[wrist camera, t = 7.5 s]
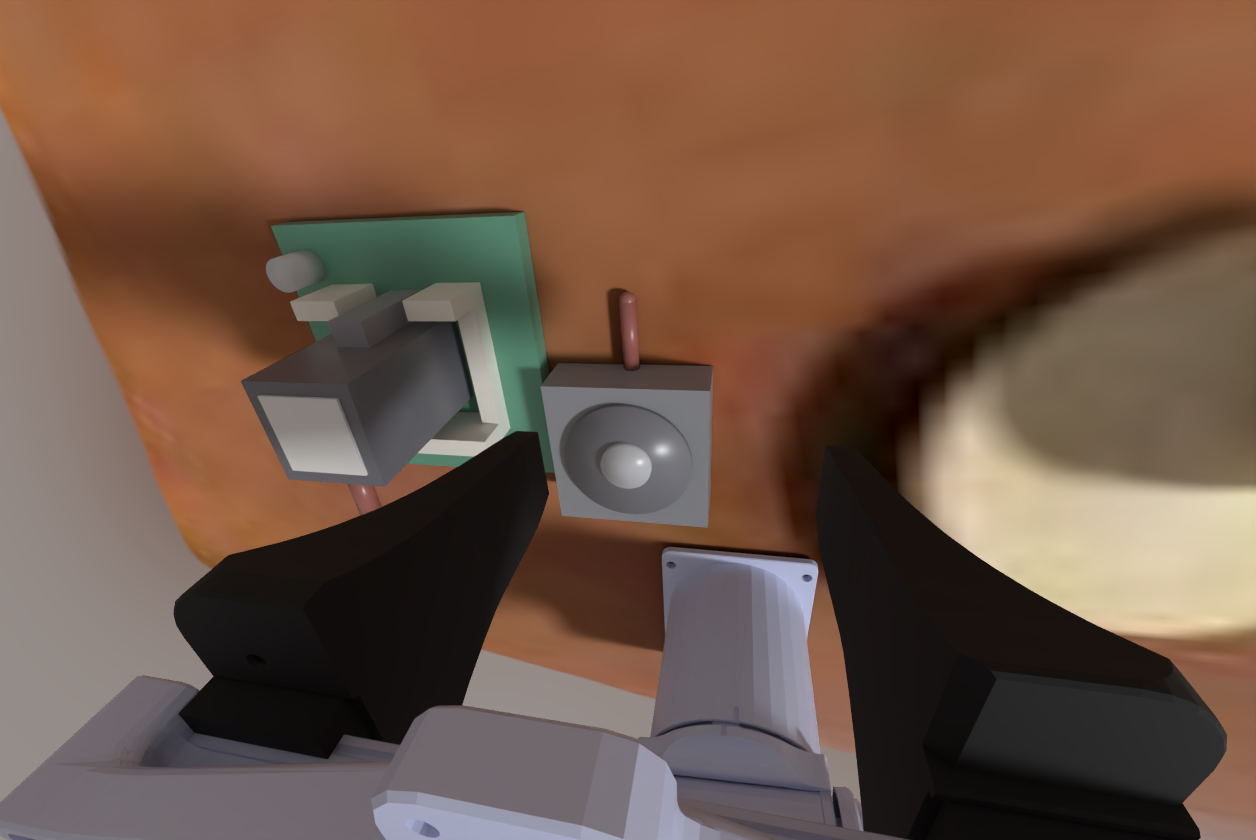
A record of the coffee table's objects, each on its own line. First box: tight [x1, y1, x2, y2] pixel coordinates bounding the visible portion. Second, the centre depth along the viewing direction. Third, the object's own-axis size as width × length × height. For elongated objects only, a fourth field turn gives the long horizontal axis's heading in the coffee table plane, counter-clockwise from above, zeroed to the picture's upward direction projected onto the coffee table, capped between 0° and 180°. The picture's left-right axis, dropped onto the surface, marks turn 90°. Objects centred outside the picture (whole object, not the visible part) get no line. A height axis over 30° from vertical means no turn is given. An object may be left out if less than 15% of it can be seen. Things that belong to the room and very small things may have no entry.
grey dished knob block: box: [541, 292, 713, 527], centre depth 22 cm, size 10×7×3 cm
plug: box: [241, 290, 474, 515], centre depth 21 cm, size 8×4×7 cm, turn 3°
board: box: [266, 212, 555, 473], centre depth 23 cm, size 12×11×4 cm
